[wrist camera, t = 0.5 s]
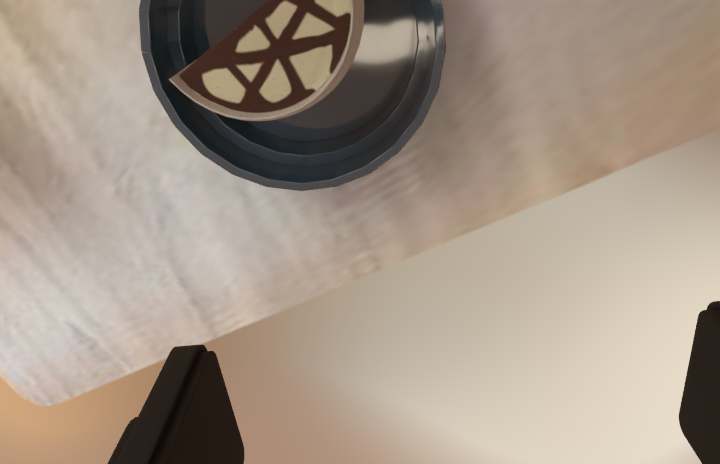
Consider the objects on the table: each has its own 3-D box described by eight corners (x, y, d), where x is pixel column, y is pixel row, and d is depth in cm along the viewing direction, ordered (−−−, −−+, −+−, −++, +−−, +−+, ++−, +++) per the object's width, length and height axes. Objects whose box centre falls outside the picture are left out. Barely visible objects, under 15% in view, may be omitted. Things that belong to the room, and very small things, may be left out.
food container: (266, 121, 41) (237, 170, 33) (209, 52, 39) (161, 85, 30) (401, 17, 38) (411, 40, 29) (347, -65, 36) (339, -67, 27)
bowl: (129, 60, 40) (88, 80, 34) (263, -190, 33) (240, -218, 27) (334, 199, 45) (328, 237, 39) (488, 7, 38) (509, 18, 32)
